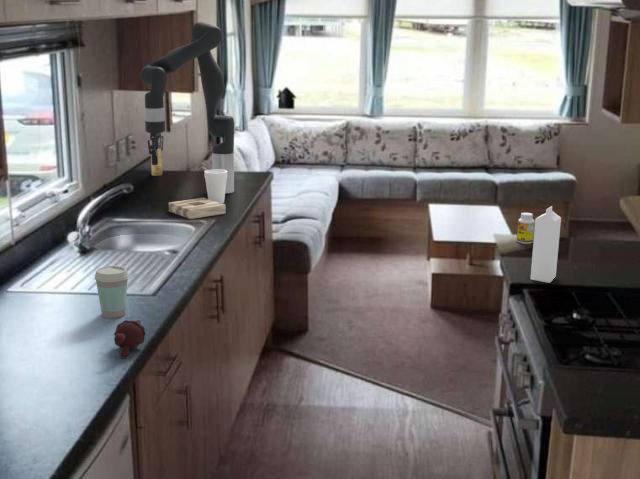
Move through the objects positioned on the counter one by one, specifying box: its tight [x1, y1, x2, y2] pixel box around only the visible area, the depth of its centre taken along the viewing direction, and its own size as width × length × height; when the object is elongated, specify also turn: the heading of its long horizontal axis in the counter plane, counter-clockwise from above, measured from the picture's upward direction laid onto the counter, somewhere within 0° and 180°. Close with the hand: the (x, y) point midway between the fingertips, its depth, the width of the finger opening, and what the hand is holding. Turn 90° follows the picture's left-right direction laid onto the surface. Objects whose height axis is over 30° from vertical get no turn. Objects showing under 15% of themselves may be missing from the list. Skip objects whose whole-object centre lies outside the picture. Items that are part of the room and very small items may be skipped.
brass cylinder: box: [150, 148, 163, 177], centre depth 326 cm, size 4×4×10 cm
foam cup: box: [204, 168, 227, 204], centre depth 346 cm, size 10×9×13 cm
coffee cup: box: [94, 265, 130, 319], centre depth 216 cm, size 8×8×12 cm
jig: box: [168, 197, 227, 220], centre depth 329 cm, size 16×16×4 cm
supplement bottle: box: [516, 212, 535, 245], centre depth 293 cm, size 6×6×10 cm
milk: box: [529, 205, 562, 284], centre depth 250 cm, size 6×6×22 cm
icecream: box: [113, 319, 146, 359], centre depth 195 cm, size 7×7×15 cm
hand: (156, 163), depth 326 cm, fingers closed on brass cylinder, 4 cm apart
